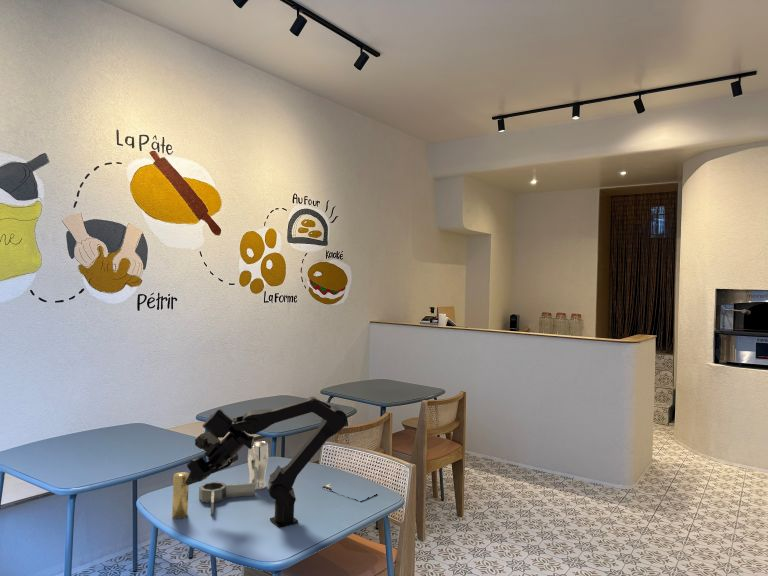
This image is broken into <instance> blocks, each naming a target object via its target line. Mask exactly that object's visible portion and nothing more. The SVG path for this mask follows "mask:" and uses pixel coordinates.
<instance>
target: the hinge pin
mask: <svg viewBox="0 0 768 576" xmlns="http://www.w3.org/2000/svg"><path fill="white" fill-rule="evenodd" d="M189 474H190V472H184V471H183V472H182V471H181V472H176V473H174V474H173V476H172V477H173V479H172V480H173V481H172V504H171V505H172V511H171V514H172V515H171V517H174V518H182V519H184V517H185V518H186V516H187V517H188V515H189V514H188V513H189V512H188V511H189V510H188V509H189V487H190V485H186V483H185V482H186V480H187V478H188V476H189ZM174 518H173V519H174Z"/></svg>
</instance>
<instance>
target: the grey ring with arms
mask: <svg viewBox="0 0 768 576" xmlns="http://www.w3.org/2000/svg"><path fill="white" fill-rule="evenodd" d="M198 489H199V490H198V500H199V499H200V500H201V501H200V500H199V501H200V502H201V503H202V502H205V503H204V504H210V516H214V511H215V510H214V508H215V504H216V503H215V502H217V503H221V502H223V501H224V500H225V499H229V498H228V497H230V498H239V497H240V498H241V497H252V496H256V490H255V483H249V482H248V483H247V482H246V483H235V484H233V483H232V484H225V482H221V481H212V482H211V481H210V482H205V483H202V485H200V486H199V487H198ZM220 501H221V502H220Z"/></svg>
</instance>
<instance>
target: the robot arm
mask: <svg viewBox="0 0 768 576" xmlns="http://www.w3.org/2000/svg"><path fill="white" fill-rule="evenodd" d="M310 413H313V414H315V415H316V416H318V417H319V418H322V419H321V421H320V423H319V426H318V427H317V429H316V430H315V431H314V433H312V435H311V436H310V437H309V439H308V440H307V441H306V442H305V443H304V444H303V446H301V448H300V449H299V450H298V451H297V453H296V454H295V455H294V456H293V457H292V459H291V460H290V461H289V462H288V464H287V465H285V466H283V467H281V466H280V465H278V466H277V467H276V469H274V471H273V472H272V473H271V474H269V479H268V483H267V486H268V494H269V496H270V497H271V499H273V500H274V516H273V517H270V518H269V520H270V522H272V523H273V524H274V525H275V526H277V527H278V528H282V527H287V526H291V525H293V524H297V523H299V520H298V519H297V518H295V515H294V514H295V503H296V501H297V497H296V494H295V490H294V488H293V486H294V484H295V482H296V480H297V477H298V476H299V474H300V473H301V471H303V470H304V468H305V467H306V466H307V465H308V463H309V462H310V461H311V460H312V458H313V457H314V456H315V455H316V454H317V453H318V451H319V450H320V449H321V448H322V446H323V445H324V444H325V443H326V442H327V440H329V439H330V438H331V437H333V436H335V435H337V434H338V433H339V432H340V431H341V430H343V429H344V428H345V427H346V425H347V424H348V416H347V414H346V413H345V411H344V410H343V409H342V408H341V407H340V406H336V405H335V406H331V405H330V404H328V403H326V402H323V401H322V400H320V399H318V398H316V397H315V396H309V397H308V398H305V399H302V400H298V401H296V402H291V403H286V404H285V405H281V406H278V407H274V408H269V409H268V408H267V409H266V408H264V409H254V410H253V409H251V410H248V411H246V412H245V413H244V415H240V416H235V417H230V416H229V415H228V414H226V413H225V412H224V410H223V409H221V408H219V407H218V408H217V410H216V411H214V412H213V413H212V414H210V415H209V416H208V417H207V419H206V420H205V421H204V423H203V424H202V428H204V429H205V430H206V431H204V432H203V433H201V434H199V435H198V436H197V438H195V439H194V446H195V447H197V448H198V449H200V450H204V451H205V452H204V455H205V457H207V459H208V461H206V460H205V459H204V458H203V457H202V456H197V457H195V458H193V459H191V460H189V462H188V463H187V464H186V467H187V469H188V470H189V471H190V472H189V476H188V478H187V480H186V482H185V483H186V485H189V486H190V485H193V484H196V483H198V482H199V483H200V482H202V481H204V480H205V479H207V478H208V477H209V476H211V475H212V474H214V473H216V472H219V471H222V470H224V469H226V468H229V467H230V466H232V465H233V464H235V463H236V462H237V461H238V460H239V455H238V452H239V451H241V449H243V448H244V447H247V448H248V449H251V448H252V446H253V444H254V442H255V440H254V438H255V437H254V435H256V434H258V433H260V432H262V431H264V430H266V429H267V428H269V427H270V426H272V425H274V424H276V423H279V422H283V421H286V420H289V419H293V418H297V417H300V416H304V415H306V414H310ZM219 438H220V439H222V438H223V439H222V440H220V439H219Z"/></svg>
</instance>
